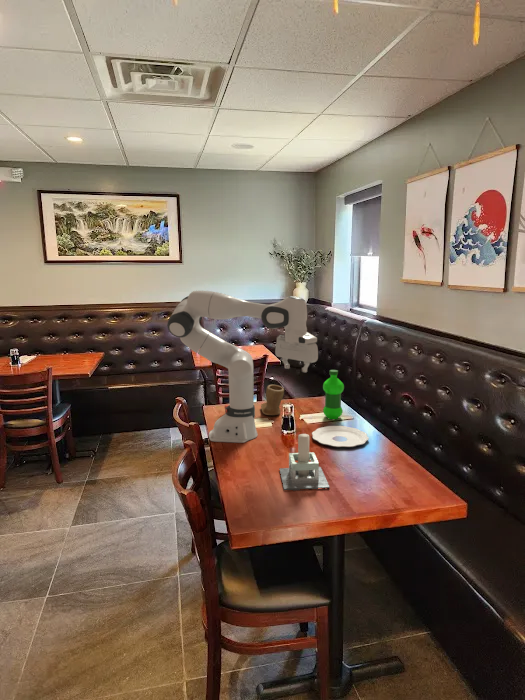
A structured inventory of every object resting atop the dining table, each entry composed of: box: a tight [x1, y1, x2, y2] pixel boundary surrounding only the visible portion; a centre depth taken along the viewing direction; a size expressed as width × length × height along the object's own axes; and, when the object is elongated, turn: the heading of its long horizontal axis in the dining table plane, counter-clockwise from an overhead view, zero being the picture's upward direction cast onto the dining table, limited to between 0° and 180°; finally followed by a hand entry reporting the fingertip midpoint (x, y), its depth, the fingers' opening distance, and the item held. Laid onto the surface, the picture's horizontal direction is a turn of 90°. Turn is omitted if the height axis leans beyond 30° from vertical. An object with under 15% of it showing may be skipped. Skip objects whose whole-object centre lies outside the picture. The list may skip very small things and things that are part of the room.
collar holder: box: [279, 451, 330, 491], centre depth 162 cm, size 16×16×8 cm
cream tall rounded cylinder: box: [297, 433, 310, 477], centre depth 161 cm, size 4×4×16 cm
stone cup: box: [260, 384, 285, 416], centre depth 237 cm, size 15×12×15 cm
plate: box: [311, 425, 370, 448], centre depth 201 cm, size 25×25×2 cm
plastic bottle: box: [322, 369, 345, 420], centre depth 226 cm, size 10×10×25 cm
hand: (295, 370), depth 181 cm, fingers open, 8 cm apart
